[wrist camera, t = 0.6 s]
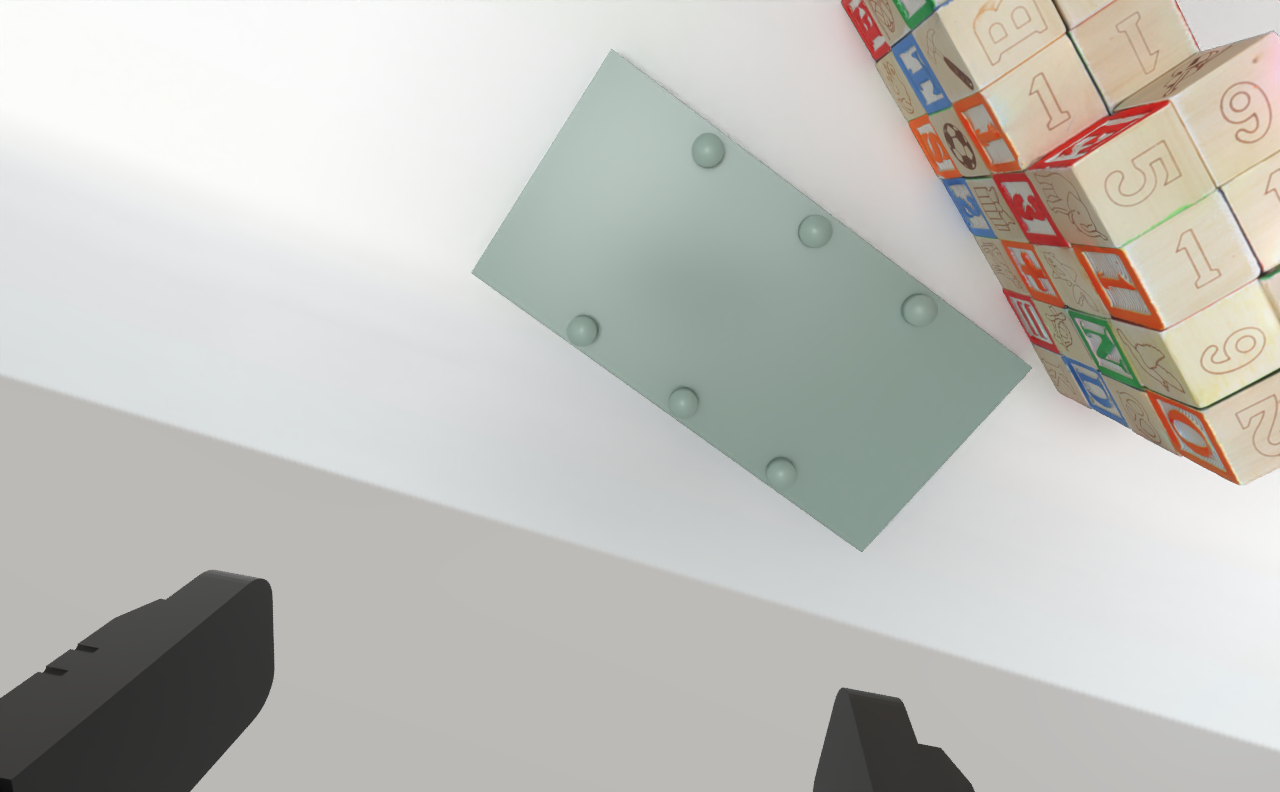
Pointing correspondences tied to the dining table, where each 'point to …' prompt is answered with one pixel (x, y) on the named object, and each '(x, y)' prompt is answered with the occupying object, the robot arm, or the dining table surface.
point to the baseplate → (743, 307)
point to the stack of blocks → (1113, 200)
